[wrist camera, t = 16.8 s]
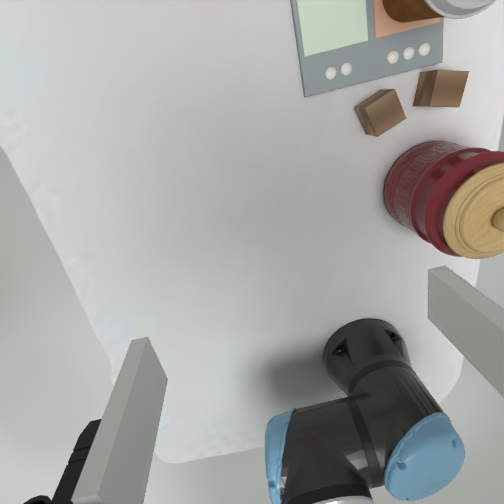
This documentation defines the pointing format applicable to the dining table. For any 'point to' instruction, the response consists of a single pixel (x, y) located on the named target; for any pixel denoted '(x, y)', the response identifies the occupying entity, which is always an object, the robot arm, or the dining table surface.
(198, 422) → the dining table surface
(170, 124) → the dining table surface
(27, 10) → the dining table surface
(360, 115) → the walnut block
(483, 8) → the disposable coffee cup
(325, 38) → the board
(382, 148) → the dining table surface
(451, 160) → the canister
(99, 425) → the robot arm
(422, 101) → the walnut block
